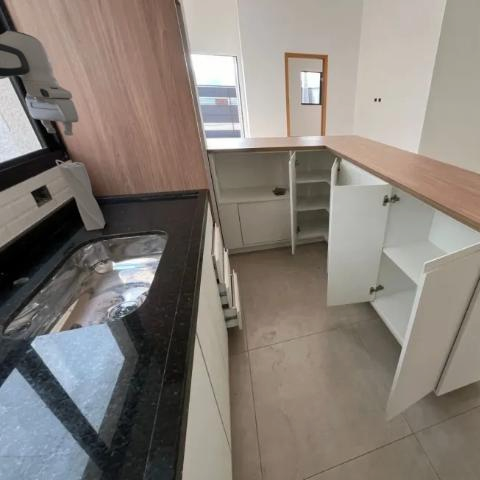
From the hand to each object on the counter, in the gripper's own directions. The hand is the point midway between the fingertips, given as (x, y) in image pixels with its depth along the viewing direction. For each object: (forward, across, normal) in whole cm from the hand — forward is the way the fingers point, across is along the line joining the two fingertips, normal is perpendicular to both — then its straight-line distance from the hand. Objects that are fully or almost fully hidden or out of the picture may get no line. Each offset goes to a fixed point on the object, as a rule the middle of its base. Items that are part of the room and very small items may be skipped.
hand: (60, 134), depth 97 cm
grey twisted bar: (+36, +4, -2) cm, 37 cm away
